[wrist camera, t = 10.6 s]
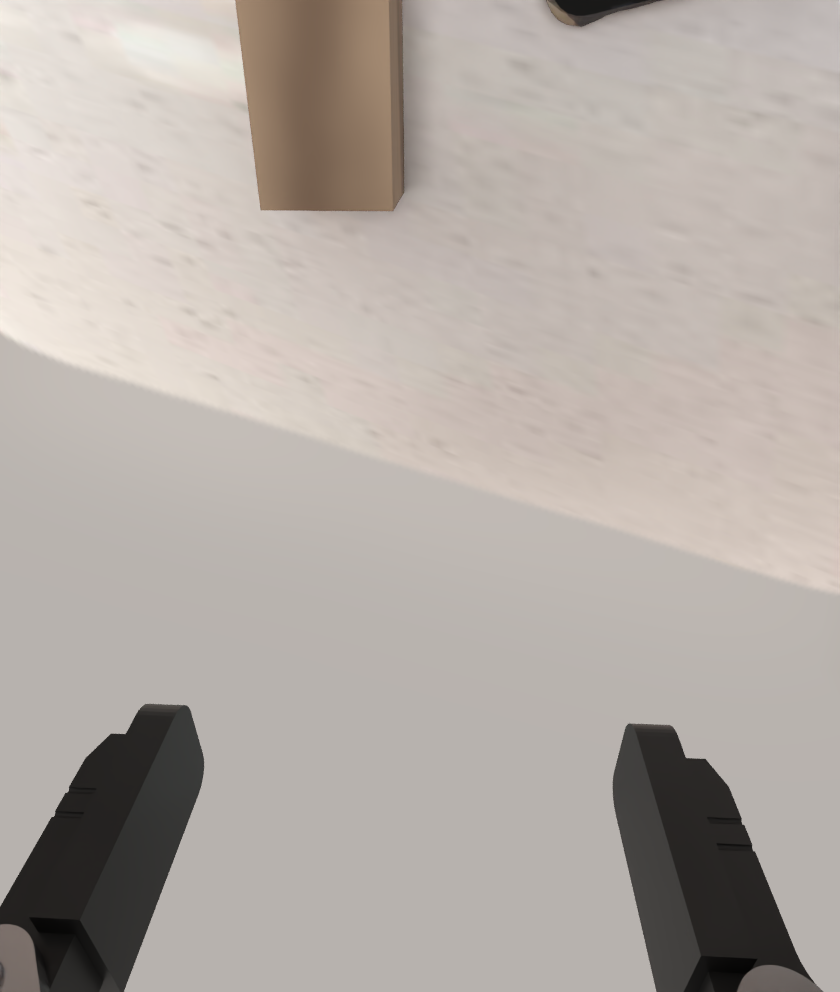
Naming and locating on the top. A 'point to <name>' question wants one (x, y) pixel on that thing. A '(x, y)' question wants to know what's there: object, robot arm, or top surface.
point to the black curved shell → (590, 9)
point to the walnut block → (325, 102)
